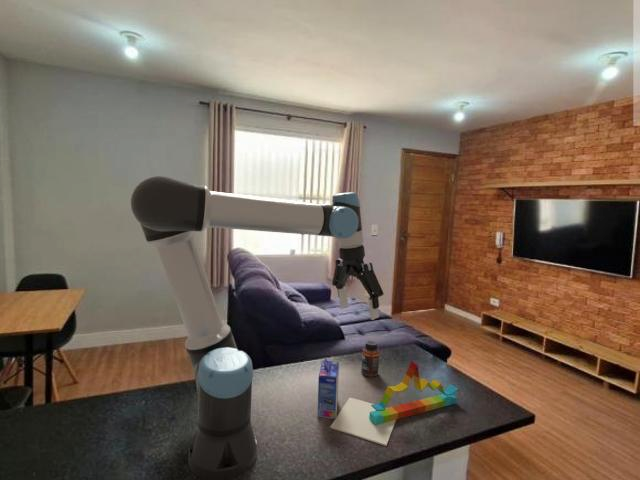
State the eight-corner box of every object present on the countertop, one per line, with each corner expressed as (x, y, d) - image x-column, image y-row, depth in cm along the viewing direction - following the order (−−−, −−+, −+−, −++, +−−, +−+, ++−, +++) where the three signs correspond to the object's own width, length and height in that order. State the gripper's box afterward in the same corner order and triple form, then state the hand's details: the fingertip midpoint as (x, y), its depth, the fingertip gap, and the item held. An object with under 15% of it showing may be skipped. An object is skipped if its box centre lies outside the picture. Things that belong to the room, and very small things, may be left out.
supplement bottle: (380, 372, 125) (382, 342, 124) (374, 379, 120) (376, 347, 119) (365, 367, 128) (367, 338, 127) (358, 374, 123) (360, 343, 122)
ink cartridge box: (319, 398, 107) (322, 352, 105) (337, 400, 106) (340, 354, 105) (315, 417, 97) (318, 367, 95) (335, 419, 96) (339, 369, 95)
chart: (448, 397, 111) (453, 352, 109) (456, 403, 108) (462, 356, 106) (368, 418, 97) (373, 366, 95) (375, 425, 94) (380, 372, 92)
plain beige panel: (330, 427, 92) (330, 426, 92) (349, 398, 107) (349, 397, 107) (386, 446, 87) (386, 444, 87) (398, 412, 101) (398, 411, 101)
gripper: (391, 246, 95) (398, 318, 99) (334, 239, 115) (342, 300, 119) (372, 252, 91) (380, 328, 95) (316, 244, 111) (324, 307, 115)
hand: (358, 312), depth 107 cm, fingers open, 13 cm apart
